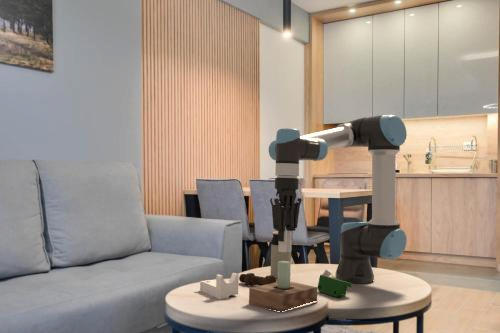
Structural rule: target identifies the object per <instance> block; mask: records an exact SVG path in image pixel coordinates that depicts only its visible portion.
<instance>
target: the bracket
mask: <svg viewBox="0 0 500 333" xmlns="http://www.w3.org/2000/svg"><path fill="white" fill-rule="evenodd" d="M239 277H240V275H239V273H236V272H231V276H230V278H229V279H228V280H227V281H226V280H225V278H224V275H222V274H216V278H214V279H207V280H200V283H199V284H200V285H199V291H200V292H203V293H205V294H207V295H210V296H212V297H214V298H217V299H220V300H221V299H229V298H230V296H234V295H239V281H240V280H239Z"/></svg>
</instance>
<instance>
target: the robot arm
mask: <svg viewBox="0 0 500 333" xmlns="http://www.w3.org/2000/svg"><path fill="white" fill-rule="evenodd" d="M275 136H276V137H275V140H273V141H271V142H270V143H269V147H268V154H269V156H270V159H272V160H274V161H275V173H274V174H275V175H274V176H276V177H275V178H274V189H275V190H276V193H275V196H274V197H273V198H272V197H271V198H269V202H270V204H271V214H272V215H271V216H272V226H273V230H275V231H278V241H279V245H278V251H279V252H286V251H289V252H291V253H292V245H293V244H292V241H293V232H294V231H295V232H296V229H297V228H298V226H299V223H298V222H299V216H300V215H299V214H300V206H301V203H302V201H303V199H302V198H301V197H298V196H297V192H296V191H297V190H299V182H300V181H299V178H298V177H299V176H300V161H314V162H316V161H323V160H324V159H325V158H327V155H328V152H329V150H333V149H336V148H343V149H345V148H346V149H348V148H356V147H359V148H362V147H363V148H366V147H367V152H369V153H370V155H371V159H372V160H371V172H372V173H371V188H372V189H371V212H372V213H371V219H370V220H369V221H357V222H356V221H355V222H344V223H342V224H341V228H340V233H339V234H340V240H339V241H340V249H339V250H340V251H339V252H340V255H339V256H340V257H339V258H340V259H339V261H338V266H337V267H336V268H337V269H336V270H335V277H334V278H336V279H339V280H341V281H345V282H349V283H352V284H369V283H368V282H371V283H373V282H372V281H373V280H374V281H375V274H374V271H373V270H374V269H373V267H372V264H371V257H372V258H378V259H383V260H390V261H391V260H393V261H394V260H397V259H399V258H400V257H401V256H402V255H403V253H404V251H405V250H406V246H407V234H406V233H405V230H403V229H401V223H400V222H399V220H397V217H396V211H397V210H396V209H397V208H396V207H397V206H396V202H397V201H396V194H397V193H396V192H397V191H396V190H397V189H396V188H397V187H396V183H397V181H396V178H397V176H396V170H397V169H396V167H397V166H396V163H397V161H396V158H397V157H396V156H397V155H398V154H399V152H400V151H401V150H400V149H401V146H402V145H403V144H405V141H406V139H407V128H406V126H405V123H404V121H403V120H402V119H401V117H399V116H397V115H395V114H383V115H376V116H375V115H374V116H367V117H360V118H357V119H353V120H350V121H347V122H344V123H341V124H338V125H337V126H336V127H334V128H329V129H324V130H321V131H320V130H319V131H315V132H312V133H306V134H302V135H301V131H300V129H297V128H290V127H289V128H285V127H284V128H279V129H278V130H277V131H276V135H275Z"/></svg>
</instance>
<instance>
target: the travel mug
mask: <svg viewBox="0 0 500 333" xmlns="http://www.w3.org/2000/svg"><path fill="white" fill-rule="evenodd" d="M271 233H272V239H271V242H270V245H271V246H270V274H269V275H274V277H275V278H276V280H278V262H279V261H288V262H291V260H292V251H291V252H289V251H286V252H279V251H278V245H279V241H278V231H277V230H275V231H272V232H271ZM290 268H292V267H291V264H290Z"/></svg>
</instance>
